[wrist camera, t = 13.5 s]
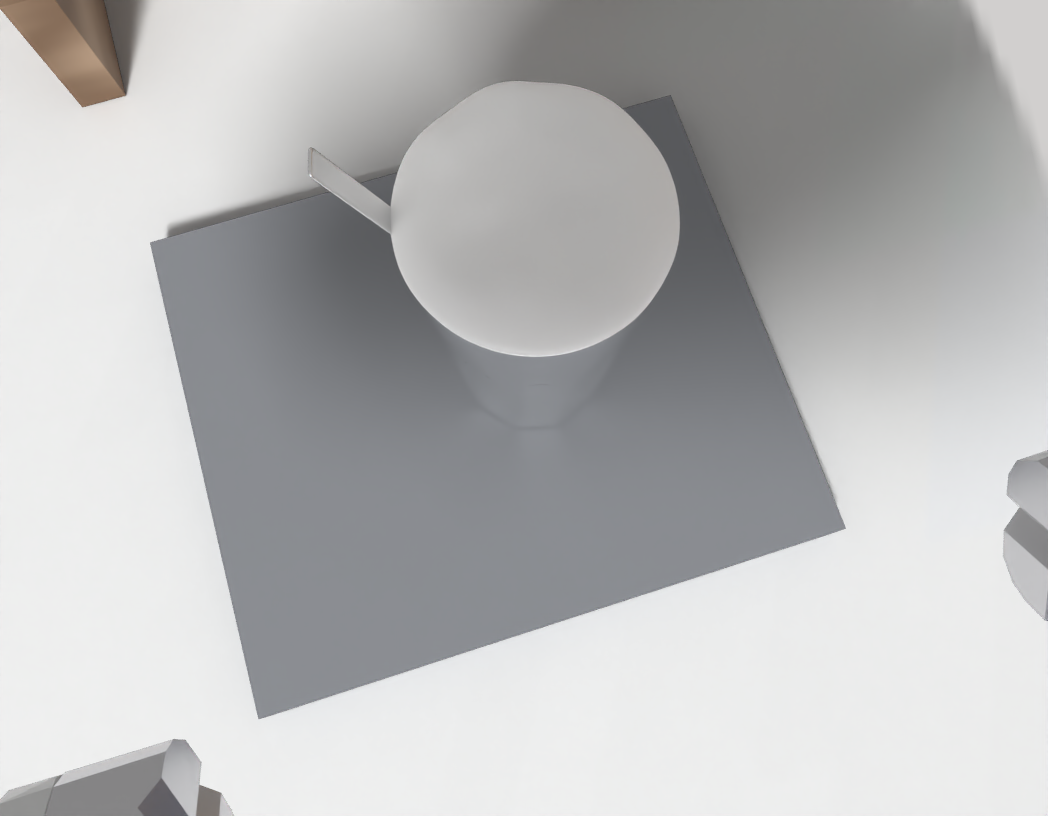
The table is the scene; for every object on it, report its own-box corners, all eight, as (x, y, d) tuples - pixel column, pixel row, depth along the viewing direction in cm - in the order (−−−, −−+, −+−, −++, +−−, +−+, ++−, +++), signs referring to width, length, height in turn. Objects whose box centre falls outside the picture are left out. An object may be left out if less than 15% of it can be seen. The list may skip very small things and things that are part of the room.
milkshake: (404, 285, 22) (309, 15, 13) (618, 274, 22) (687, -3, 13) (407, 464, 21) (305, 318, 12) (632, 452, 21) (720, 296, 12)
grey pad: (268, 716, 21) (258, 718, 20) (162, 255, 23) (149, 242, 23) (834, 532, 22) (845, 528, 21) (665, 112, 24) (670, 95, 24)
